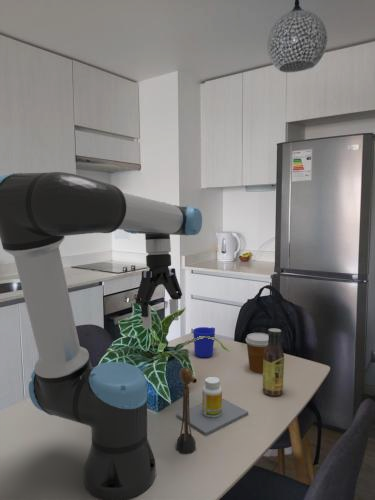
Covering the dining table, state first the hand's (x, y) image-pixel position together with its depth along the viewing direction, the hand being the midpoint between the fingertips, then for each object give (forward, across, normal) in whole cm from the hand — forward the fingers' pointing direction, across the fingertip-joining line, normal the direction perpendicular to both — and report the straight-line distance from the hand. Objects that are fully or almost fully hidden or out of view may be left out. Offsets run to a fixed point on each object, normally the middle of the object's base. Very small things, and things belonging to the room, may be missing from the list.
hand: (161, 323), depth 120 cm
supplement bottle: (+24, +1, +17) cm, 29 cm away
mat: (+24, +1, +17) cm, 30 cm away
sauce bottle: (+24, -21, +26) cm, 41 cm away
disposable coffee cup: (+22, -35, +16) cm, 44 cm away
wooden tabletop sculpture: (+26, +18, +19) cm, 37 cm away
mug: (+19, -38, -7) cm, 43 cm away
